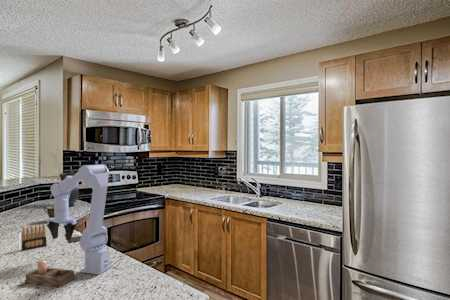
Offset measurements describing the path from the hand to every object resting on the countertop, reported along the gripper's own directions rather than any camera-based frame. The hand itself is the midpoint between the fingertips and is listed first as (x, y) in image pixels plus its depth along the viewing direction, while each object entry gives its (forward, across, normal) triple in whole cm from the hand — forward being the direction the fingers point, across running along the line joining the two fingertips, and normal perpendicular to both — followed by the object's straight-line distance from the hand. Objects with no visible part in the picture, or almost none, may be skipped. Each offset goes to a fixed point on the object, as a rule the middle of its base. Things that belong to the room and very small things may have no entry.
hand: (62, 239), depth 136 cm
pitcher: (+10, +89, -101) cm, 135 cm away
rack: (+9, -12, +18) cm, 24 cm away
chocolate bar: (+10, +18, -29) cm, 35 cm away
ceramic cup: (+10, +60, -54) cm, 81 cm away
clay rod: (+8, -8, +18) cm, 22 cm away
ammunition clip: (+10, +26, -9) cm, 29 cm away
